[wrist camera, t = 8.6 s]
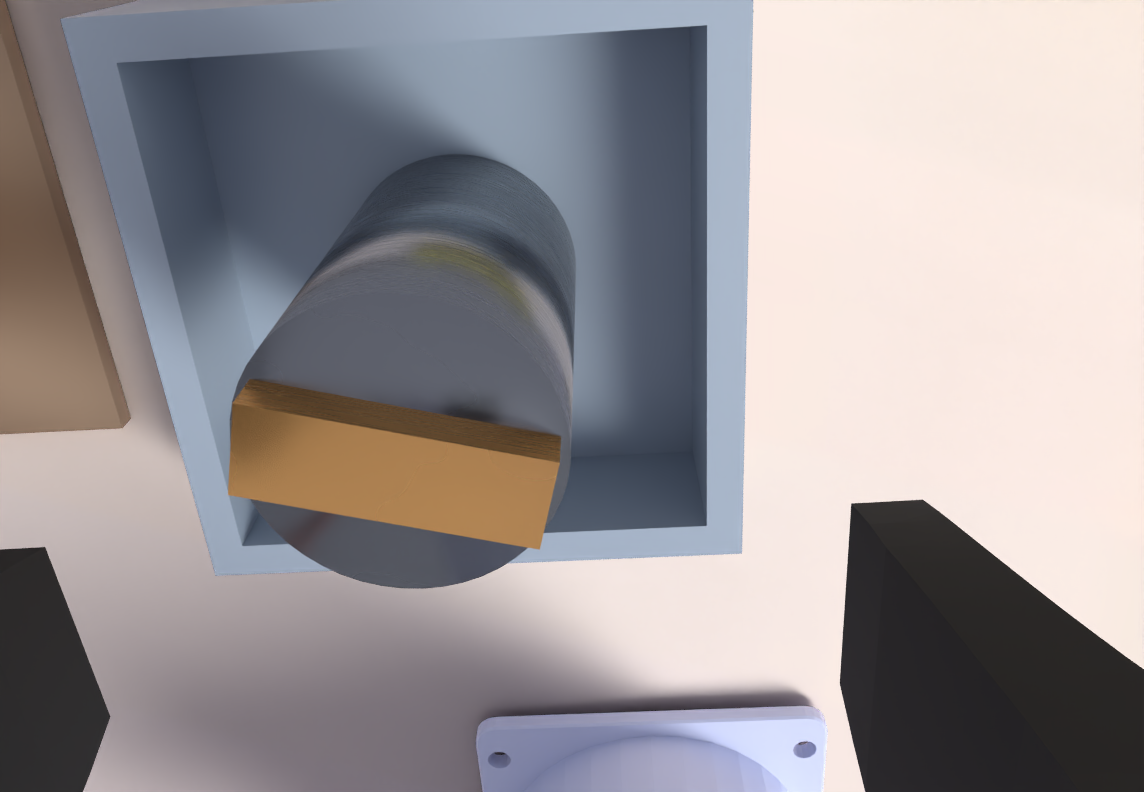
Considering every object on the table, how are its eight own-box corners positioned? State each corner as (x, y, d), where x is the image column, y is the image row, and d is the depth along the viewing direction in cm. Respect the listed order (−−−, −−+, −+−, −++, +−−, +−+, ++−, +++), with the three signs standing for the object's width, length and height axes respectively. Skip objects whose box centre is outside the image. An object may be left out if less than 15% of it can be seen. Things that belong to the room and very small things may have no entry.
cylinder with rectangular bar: (598, 180, 16) (604, 352, 10) (552, 389, 18) (534, 644, 12) (360, 131, 16) (218, 279, 10) (338, 348, 18) (206, 589, 12)
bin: (719, 460, 20) (741, 553, 17) (266, 482, 20) (215, 575, 17) (724, -41, 15) (754, -28, 13) (151, -3, 16) (59, 18, 13)
